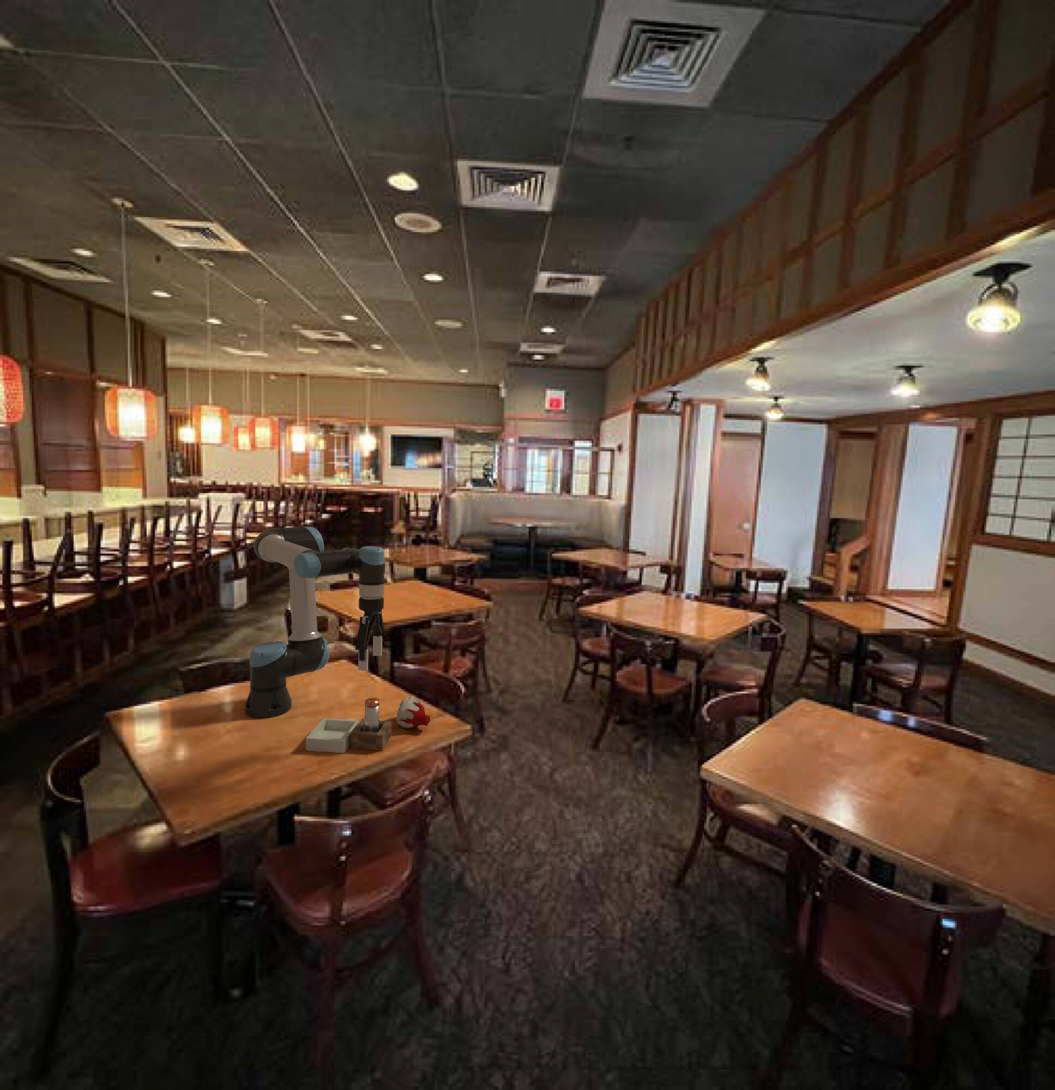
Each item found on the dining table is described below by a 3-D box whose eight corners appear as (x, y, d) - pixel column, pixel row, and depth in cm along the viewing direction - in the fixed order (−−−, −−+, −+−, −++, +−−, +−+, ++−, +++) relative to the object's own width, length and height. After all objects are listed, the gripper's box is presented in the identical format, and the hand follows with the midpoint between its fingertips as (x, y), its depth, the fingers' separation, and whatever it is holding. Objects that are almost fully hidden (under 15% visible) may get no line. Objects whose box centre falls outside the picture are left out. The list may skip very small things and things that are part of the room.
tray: (324, 729, 184) (324, 718, 184) (359, 731, 184) (359, 720, 183) (305, 750, 170) (305, 738, 170) (344, 753, 170) (344, 740, 169)
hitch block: (361, 733, 183) (361, 719, 182) (391, 735, 182) (391, 721, 182) (350, 748, 173) (350, 733, 172) (382, 750, 173) (382, 735, 172)
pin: (367, 738, 180) (367, 697, 178) (380, 739, 180) (381, 698, 178) (362, 744, 176) (363, 703, 174) (376, 745, 175) (376, 703, 174)
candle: (403, 712, 198) (438, 727, 193) (383, 724, 188) (418, 741, 182) (407, 689, 197) (441, 704, 191) (386, 700, 187) (422, 716, 181)
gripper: (372, 587, 183) (371, 649, 186) (344, 605, 158) (343, 676, 161) (394, 588, 183) (393, 650, 186) (370, 607, 158) (369, 677, 161)
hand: (370, 662), depth 173 cm, fingers open, 13 cm apart
